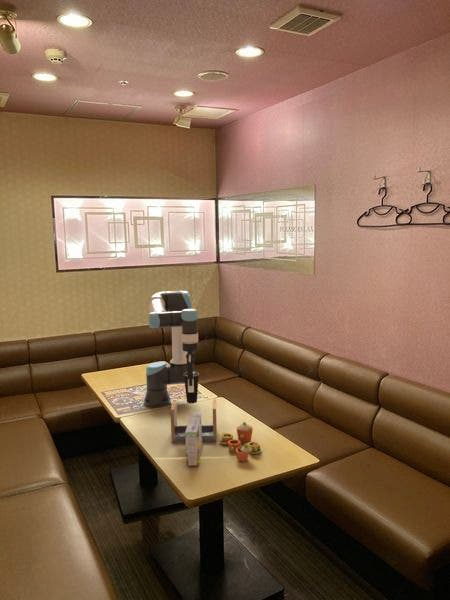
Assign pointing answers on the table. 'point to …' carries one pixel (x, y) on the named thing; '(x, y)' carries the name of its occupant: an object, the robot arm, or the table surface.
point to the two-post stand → (179, 431)
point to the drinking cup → (193, 395)
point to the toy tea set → (243, 437)
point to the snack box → (193, 440)
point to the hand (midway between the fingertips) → (191, 389)
